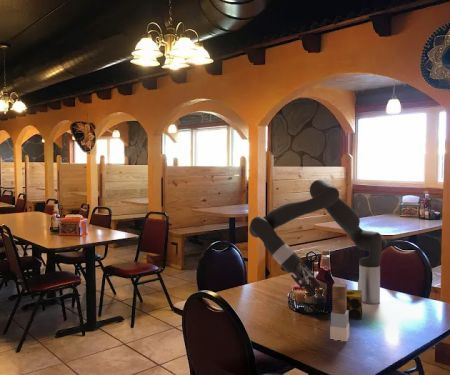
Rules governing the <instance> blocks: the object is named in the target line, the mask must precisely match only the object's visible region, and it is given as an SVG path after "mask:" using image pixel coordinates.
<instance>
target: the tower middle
mask: <svg viewBox="0 0 450 375" xmlns="http://www.w3.org/2000/svg"><path fill="white" fill-rule="evenodd" d="M349 320H350V319H349V310H347V311H346V313H345V314H340V313H333V310H331V312H330V326H332V327H339V328H347V326H348V323H349V324H350V321H349Z"/></svg>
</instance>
